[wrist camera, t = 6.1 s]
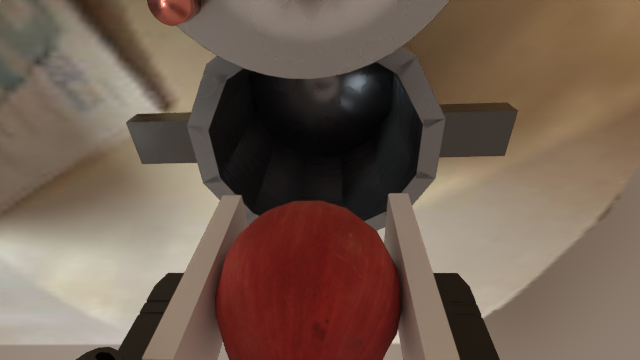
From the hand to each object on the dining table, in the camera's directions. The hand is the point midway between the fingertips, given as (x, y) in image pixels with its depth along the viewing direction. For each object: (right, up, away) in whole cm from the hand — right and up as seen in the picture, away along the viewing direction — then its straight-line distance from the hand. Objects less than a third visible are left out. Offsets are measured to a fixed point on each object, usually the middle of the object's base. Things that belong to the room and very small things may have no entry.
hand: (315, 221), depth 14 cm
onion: (0, 0, 0) cm, 0 cm away
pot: (0, +8, +11) cm, 14 cm away
